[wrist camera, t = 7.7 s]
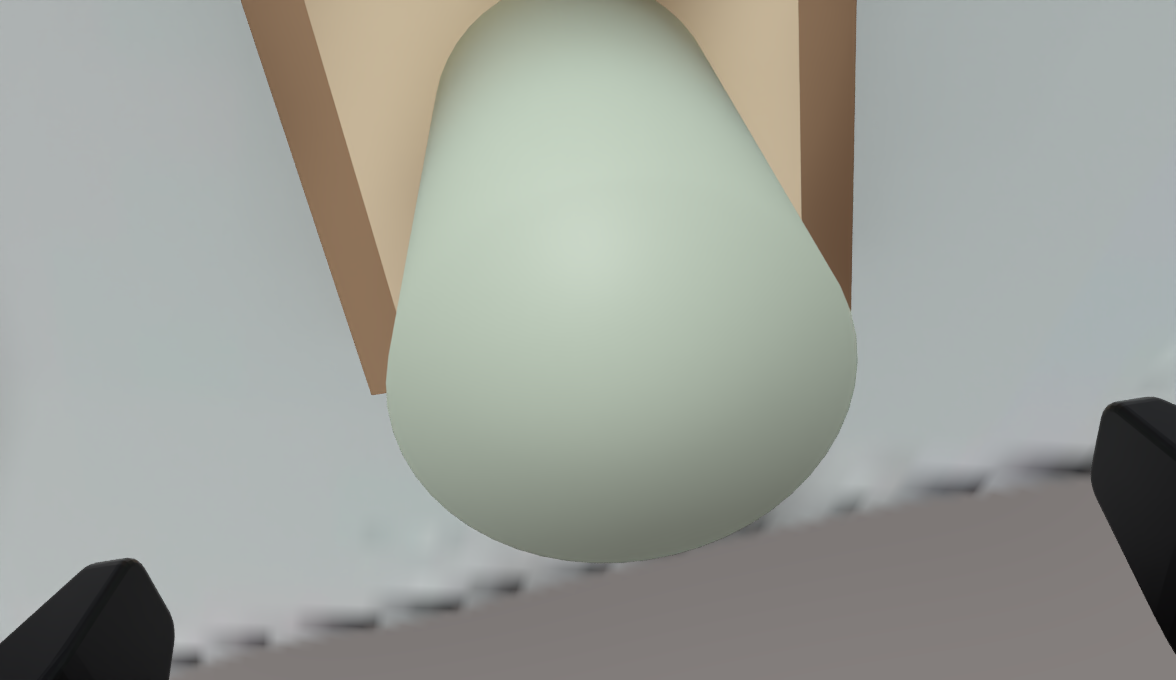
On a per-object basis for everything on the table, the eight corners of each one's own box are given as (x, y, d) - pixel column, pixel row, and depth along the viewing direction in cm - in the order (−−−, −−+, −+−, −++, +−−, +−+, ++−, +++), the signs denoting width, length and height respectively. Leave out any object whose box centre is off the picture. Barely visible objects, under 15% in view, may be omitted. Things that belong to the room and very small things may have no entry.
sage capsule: (707, -45, 15) (862, 140, 9) (725, 229, 18) (853, 529, 11) (403, 4, 15) (325, 224, 9) (466, 270, 18) (444, 591, 12)
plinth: (823, -249, 16) (861, -245, 14) (823, 273, 21) (851, 321, 20) (228, -151, 16) (195, -135, 14) (381, 342, 21) (371, 396, 20)
